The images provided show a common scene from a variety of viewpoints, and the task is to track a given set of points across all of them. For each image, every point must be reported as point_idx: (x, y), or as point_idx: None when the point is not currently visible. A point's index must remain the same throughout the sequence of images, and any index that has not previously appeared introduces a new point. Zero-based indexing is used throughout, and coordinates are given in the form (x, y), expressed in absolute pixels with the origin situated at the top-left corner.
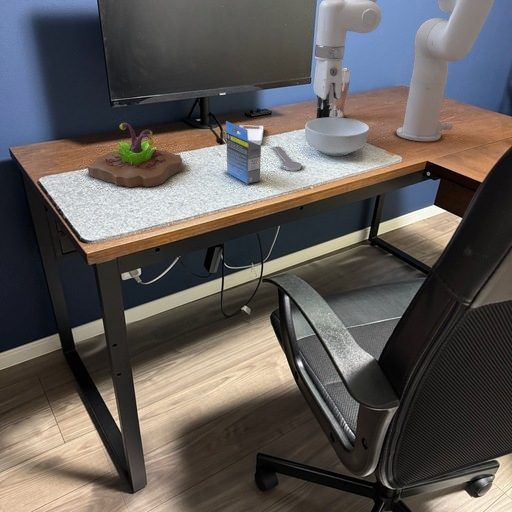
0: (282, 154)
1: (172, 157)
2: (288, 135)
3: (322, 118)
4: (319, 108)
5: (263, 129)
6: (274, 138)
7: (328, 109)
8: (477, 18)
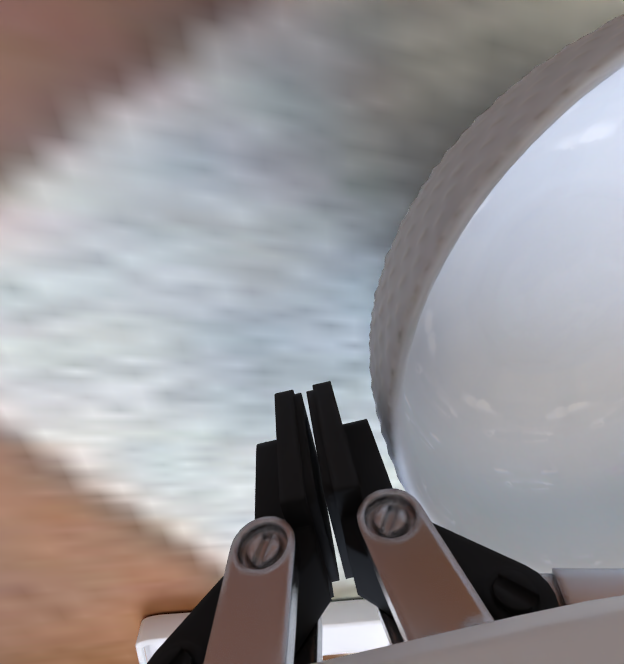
0: None
1: None
2: (217, 513)
3: (413, 477)
4: (330, 582)
5: (177, 626)
6: None
7: (391, 504)
8: None
